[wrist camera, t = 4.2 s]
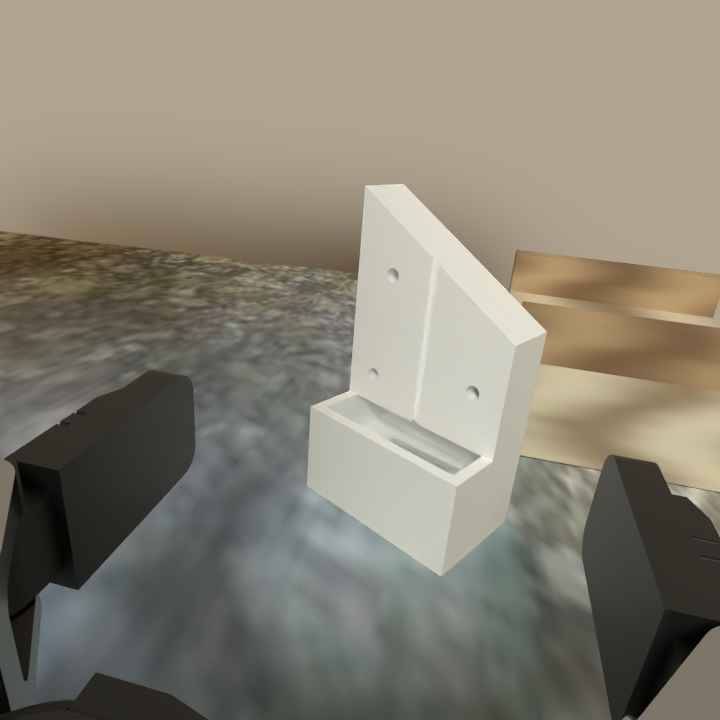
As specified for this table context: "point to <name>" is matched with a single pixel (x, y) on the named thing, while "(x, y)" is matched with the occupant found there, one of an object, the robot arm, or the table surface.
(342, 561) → the table surface
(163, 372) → the robot arm
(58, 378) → the table surface
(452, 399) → the white angled block
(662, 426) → the wooden step block
